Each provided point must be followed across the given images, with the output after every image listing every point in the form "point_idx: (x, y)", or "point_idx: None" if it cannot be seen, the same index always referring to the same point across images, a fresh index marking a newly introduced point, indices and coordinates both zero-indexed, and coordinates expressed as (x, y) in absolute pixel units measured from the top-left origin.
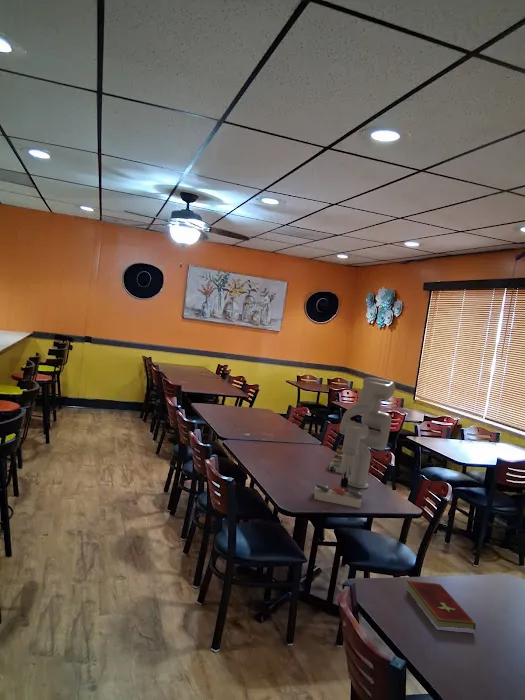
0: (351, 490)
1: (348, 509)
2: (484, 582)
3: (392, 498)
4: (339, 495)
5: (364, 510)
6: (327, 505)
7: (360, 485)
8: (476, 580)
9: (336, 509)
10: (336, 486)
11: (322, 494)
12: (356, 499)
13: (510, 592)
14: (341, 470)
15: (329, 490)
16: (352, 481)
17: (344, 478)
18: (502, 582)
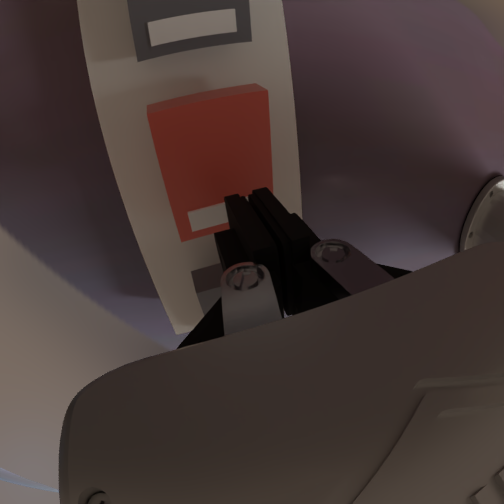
0: None
1: (75, 251)
2: (12, 474)
3: None
4: (156, 177)
5: (152, 323)
6: (22, 108)
7: (472, 242)
8: (5, 470)
9: (4, 187)
10: (264, 134)
11: (82, 24)
12: (176, 308)
13: (22, 483)
14: (174, 421)
15: (240, 62)
16: (492, 211)
17: (210, 314)
18: (41, 485)
